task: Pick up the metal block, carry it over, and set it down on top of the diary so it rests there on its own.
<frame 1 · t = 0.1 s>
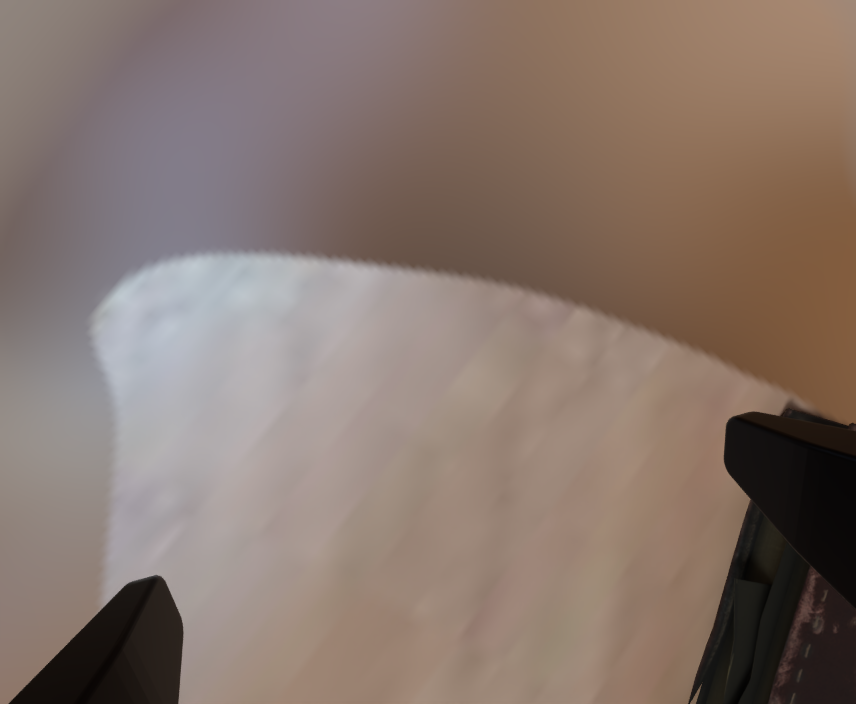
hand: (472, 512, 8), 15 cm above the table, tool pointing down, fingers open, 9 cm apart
diary: (826, 648, 30), on the table
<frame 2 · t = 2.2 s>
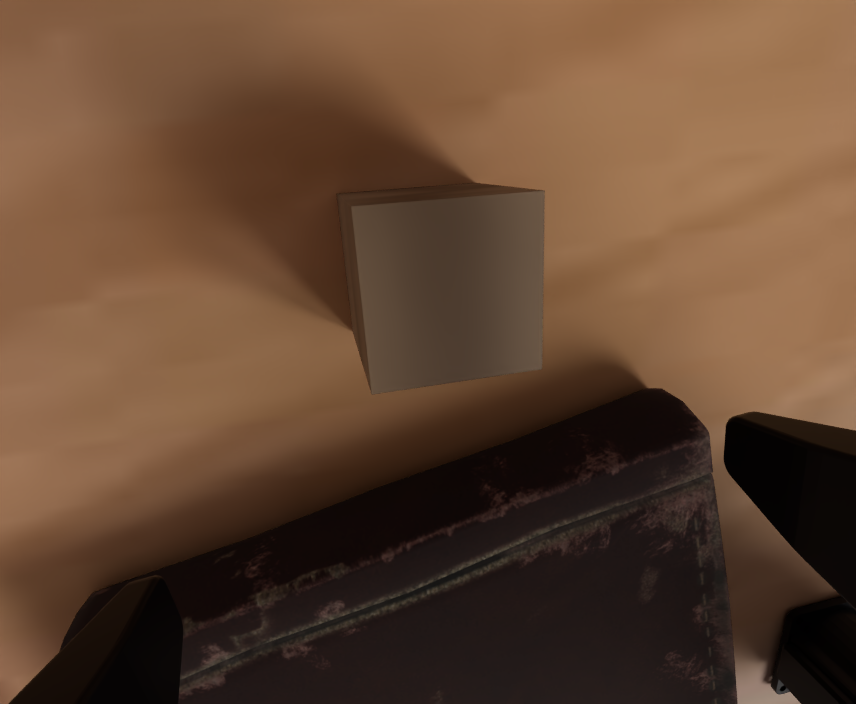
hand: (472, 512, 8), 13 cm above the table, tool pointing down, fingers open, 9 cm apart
diary: (435, 617, 26), on the table
metal block: (412, 258, 20), on the table
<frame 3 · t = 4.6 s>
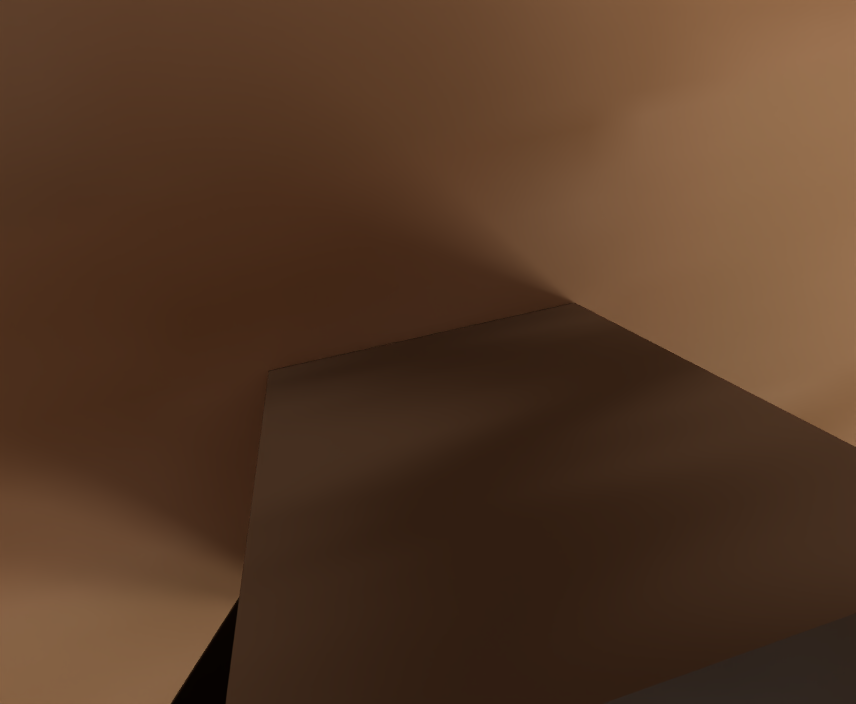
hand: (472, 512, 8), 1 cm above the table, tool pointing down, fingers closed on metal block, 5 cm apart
metal block: (450, 467, 9), on the table, touching gripper
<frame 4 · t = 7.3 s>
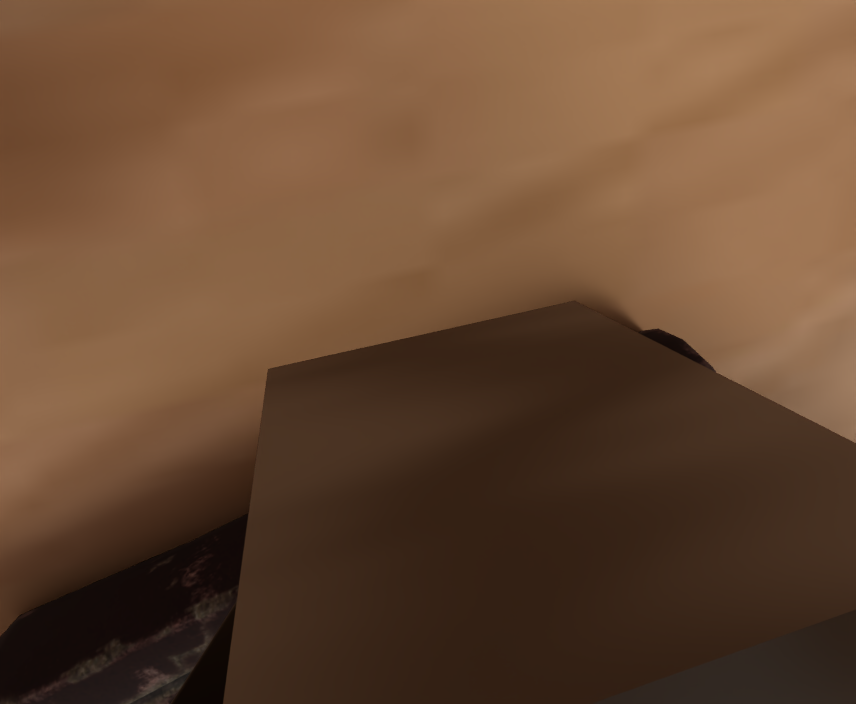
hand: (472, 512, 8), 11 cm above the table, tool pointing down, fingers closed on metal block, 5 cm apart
diary: (424, 607, 24), on the table
metal block: (449, 466, 9), point 9 cm above the table, touching gripper
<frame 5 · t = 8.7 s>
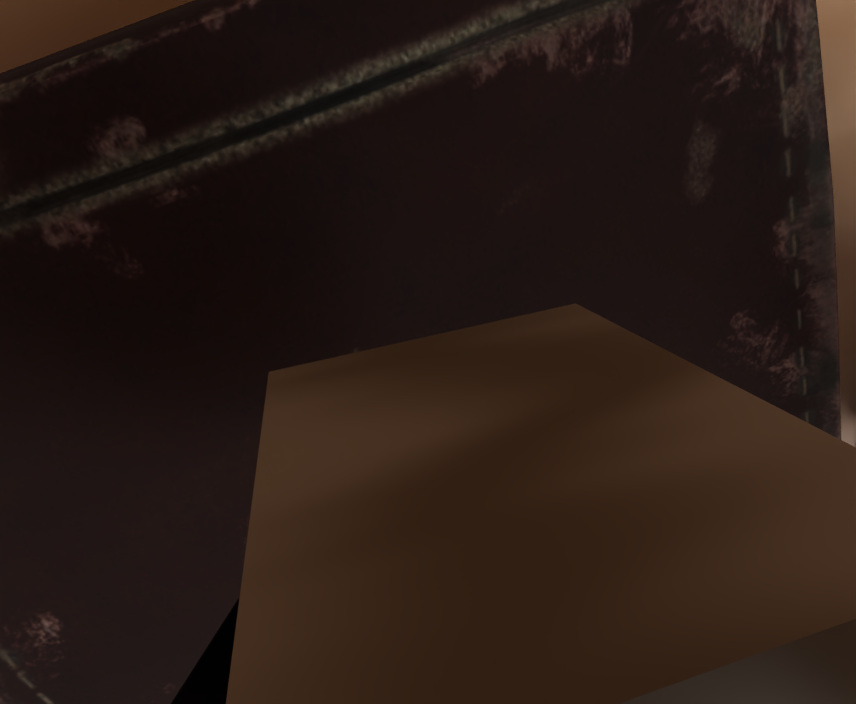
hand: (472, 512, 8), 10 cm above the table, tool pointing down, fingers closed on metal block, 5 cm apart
diary: (374, 330, 18), on the table
metal block: (450, 468, 9), point 8 cm above the table, touching gripper
when the fingers open (7 cm above the table, at t = 9.9 s): metal block drops 2 cm, resting on diary.
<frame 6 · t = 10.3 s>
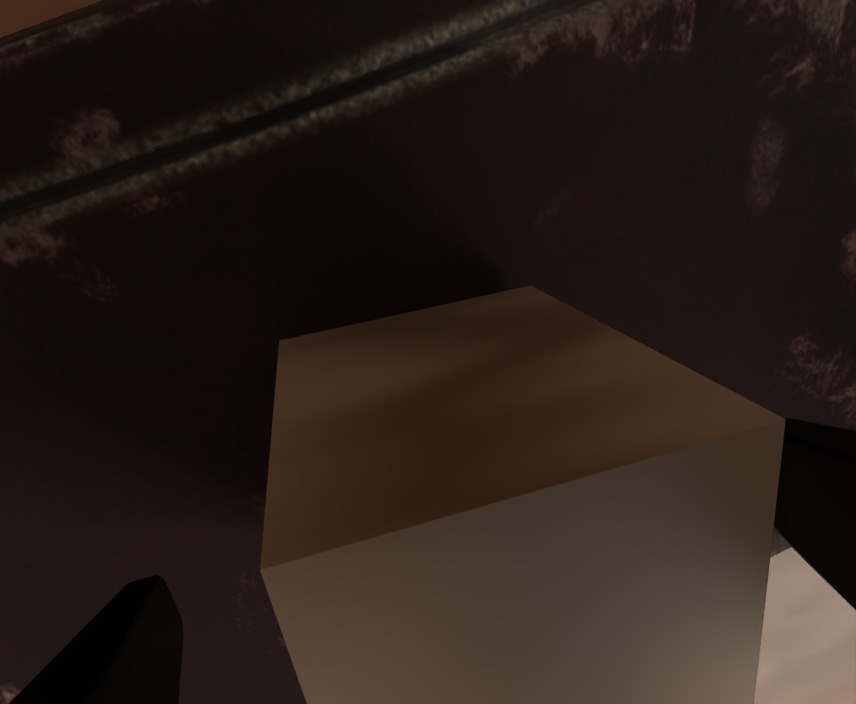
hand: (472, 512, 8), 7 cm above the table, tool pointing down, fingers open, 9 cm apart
diary: (385, 350, 16), on the table, touching metal block
metal block: (429, 424, 11), point 4 cm above the table, touching diary
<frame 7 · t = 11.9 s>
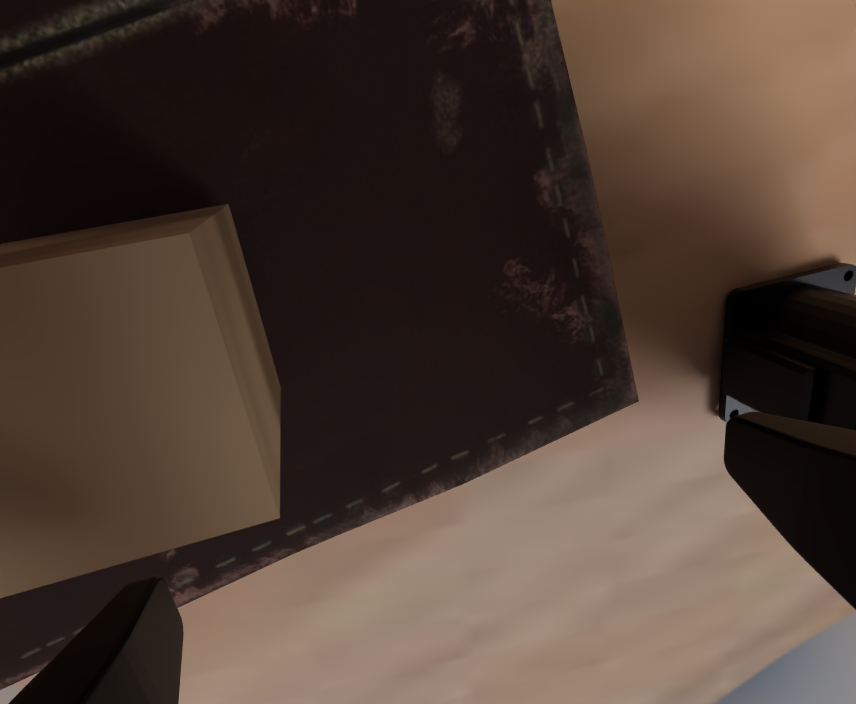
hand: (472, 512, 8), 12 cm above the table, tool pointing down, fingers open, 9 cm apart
diary: (193, 286, 18), on the table
metal block: (155, 322, 13), point 4 cm above the table
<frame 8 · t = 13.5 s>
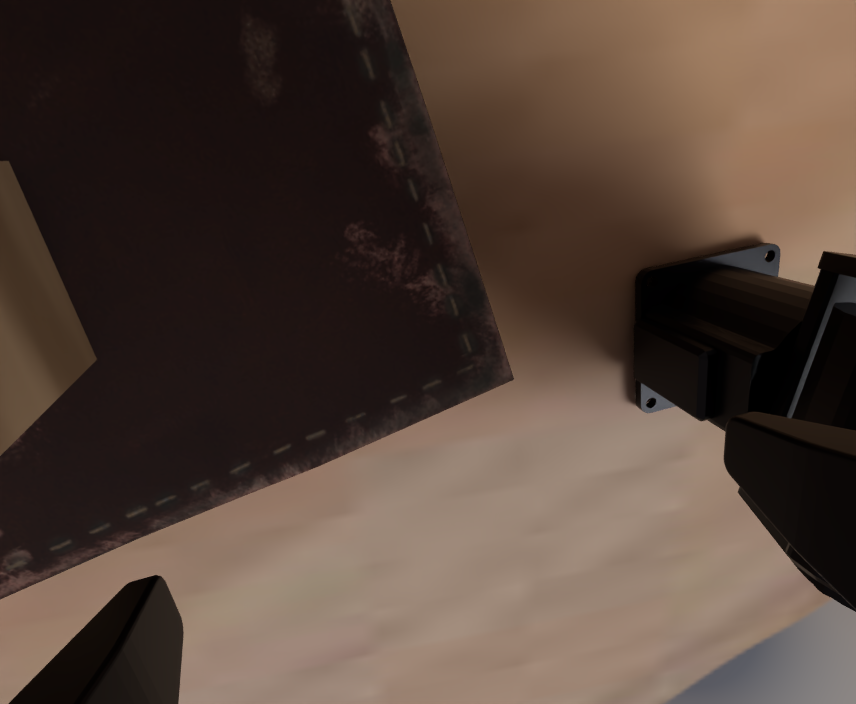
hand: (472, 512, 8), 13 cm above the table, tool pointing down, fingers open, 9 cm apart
diary: (46, 257, 17), on the table, touching metal block
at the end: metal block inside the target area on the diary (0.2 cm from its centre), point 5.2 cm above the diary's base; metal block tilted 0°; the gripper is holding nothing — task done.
